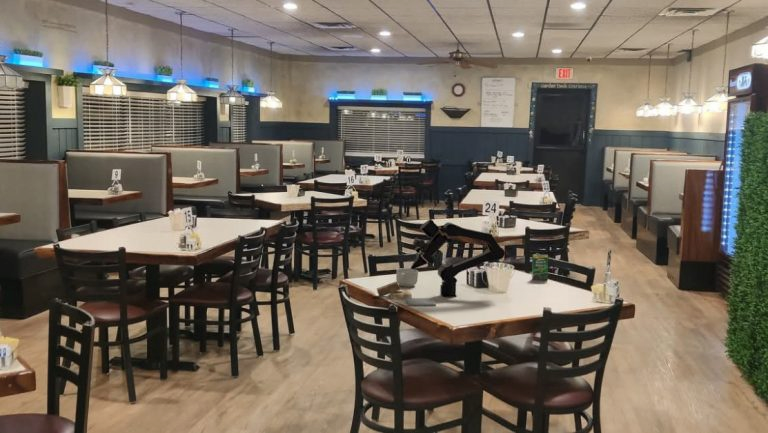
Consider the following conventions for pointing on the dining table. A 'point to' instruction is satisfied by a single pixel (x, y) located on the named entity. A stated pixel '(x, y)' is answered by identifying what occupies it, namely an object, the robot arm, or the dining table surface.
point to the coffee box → (540, 267)
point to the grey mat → (420, 302)
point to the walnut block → (388, 289)
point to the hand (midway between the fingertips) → (411, 268)
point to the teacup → (406, 277)
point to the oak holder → (401, 294)
